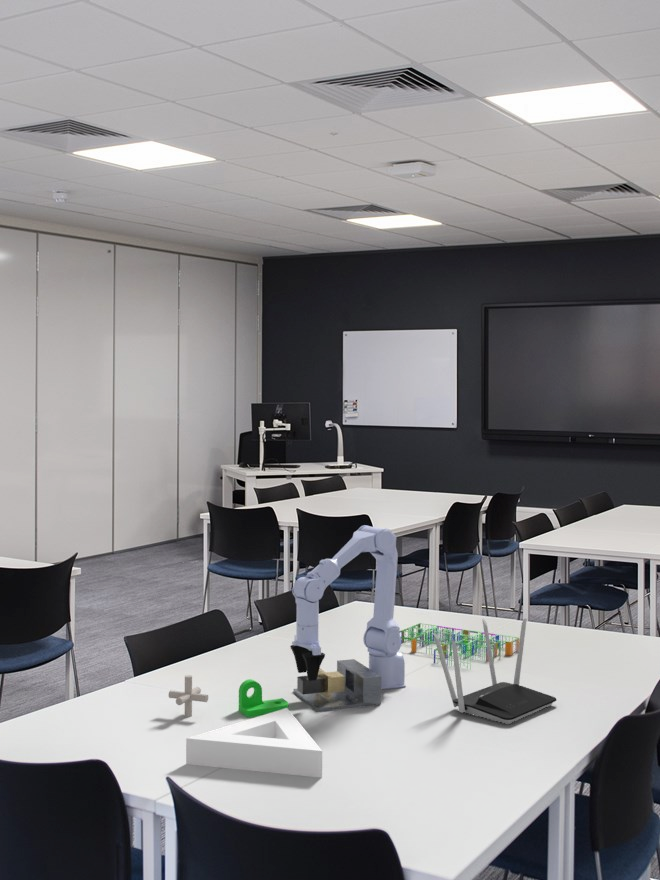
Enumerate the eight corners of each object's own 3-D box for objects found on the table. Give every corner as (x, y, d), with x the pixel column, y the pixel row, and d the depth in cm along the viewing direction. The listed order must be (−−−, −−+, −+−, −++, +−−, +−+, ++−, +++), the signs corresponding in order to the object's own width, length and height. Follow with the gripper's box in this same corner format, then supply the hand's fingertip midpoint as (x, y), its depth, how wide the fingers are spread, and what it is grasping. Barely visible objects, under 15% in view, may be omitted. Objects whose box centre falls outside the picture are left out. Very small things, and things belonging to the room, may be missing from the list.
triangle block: (322, 781, 207) (322, 751, 207) (197, 794, 199) (197, 762, 199) (286, 734, 236) (287, 707, 235) (176, 744, 228) (176, 716, 228)
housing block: (353, 686, 273) (354, 659, 273) (381, 705, 257) (381, 676, 256) (293, 692, 267) (293, 664, 267) (317, 712, 250) (317, 682, 250)
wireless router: (496, 733, 236) (498, 649, 235) (418, 711, 252) (419, 633, 251) (568, 702, 261) (569, 626, 260) (493, 684, 276) (494, 613, 276)
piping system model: (520, 652, 314) (520, 637, 314) (481, 673, 289) (481, 657, 289) (420, 636, 333) (421, 622, 332) (376, 655, 308) (376, 640, 308)
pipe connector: (215, 712, 249) (215, 672, 249) (197, 724, 240) (197, 683, 239) (179, 708, 253) (179, 669, 252) (160, 720, 243) (160, 679, 243)
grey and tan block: (334, 687, 266) (334, 665, 266) (347, 697, 258) (347, 674, 258) (294, 692, 262) (294, 669, 262) (305, 702, 254) (306, 678, 253)
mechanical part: (247, 719, 245) (248, 686, 245) (238, 712, 251) (238, 680, 250) (292, 712, 251) (292, 681, 250) (282, 705, 256) (282, 675, 256)
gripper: (283, 619, 263) (283, 670, 264) (302, 631, 250) (302, 685, 250) (308, 617, 266) (308, 667, 266) (328, 629, 252) (328, 682, 253)
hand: (307, 676), depth 258 cm, fingers open, 7 cm apart
